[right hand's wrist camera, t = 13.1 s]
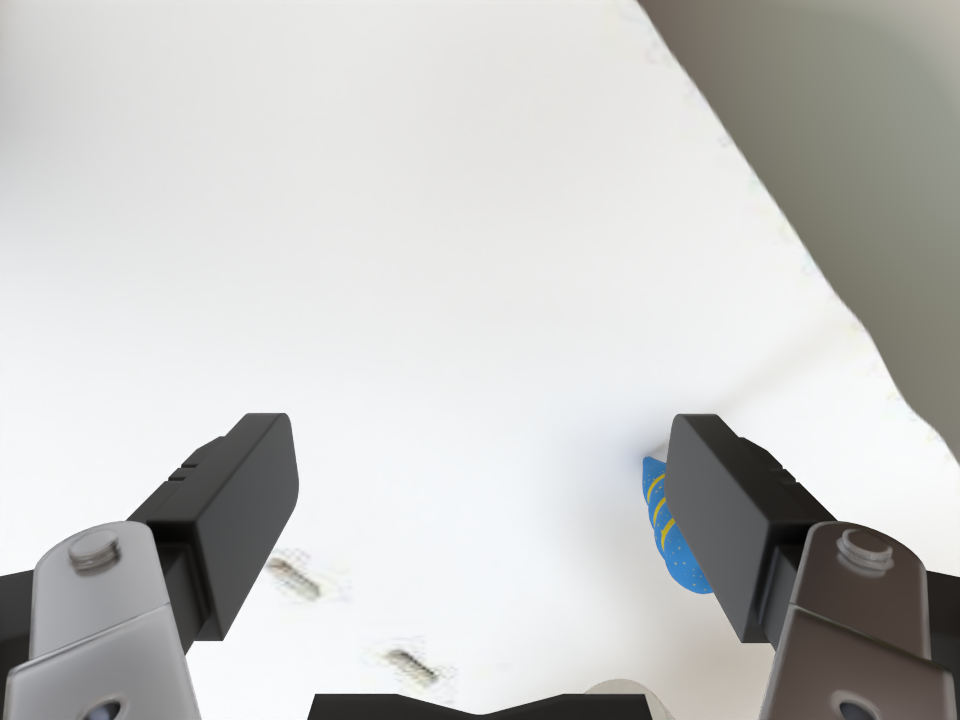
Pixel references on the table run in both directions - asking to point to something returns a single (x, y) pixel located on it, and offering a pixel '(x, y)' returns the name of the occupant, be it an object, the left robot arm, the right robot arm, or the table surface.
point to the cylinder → (622, 686)
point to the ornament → (670, 531)
